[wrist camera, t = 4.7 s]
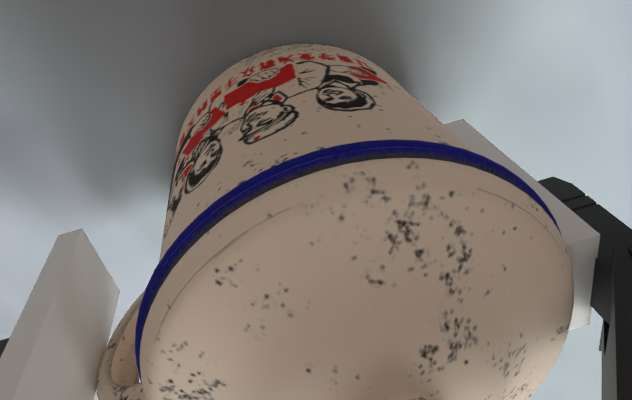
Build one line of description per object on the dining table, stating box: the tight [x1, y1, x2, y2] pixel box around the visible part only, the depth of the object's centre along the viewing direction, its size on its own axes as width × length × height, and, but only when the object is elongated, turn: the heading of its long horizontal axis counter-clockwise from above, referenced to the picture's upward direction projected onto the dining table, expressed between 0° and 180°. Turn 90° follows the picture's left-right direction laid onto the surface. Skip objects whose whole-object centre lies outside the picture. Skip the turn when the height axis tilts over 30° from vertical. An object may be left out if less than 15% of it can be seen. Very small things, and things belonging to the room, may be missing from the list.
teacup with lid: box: [96, 44, 574, 400], centre depth 13 cm, size 12×9×12 cm
